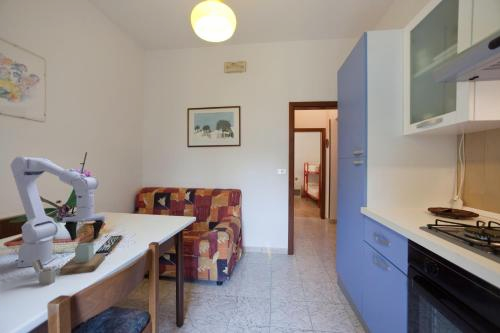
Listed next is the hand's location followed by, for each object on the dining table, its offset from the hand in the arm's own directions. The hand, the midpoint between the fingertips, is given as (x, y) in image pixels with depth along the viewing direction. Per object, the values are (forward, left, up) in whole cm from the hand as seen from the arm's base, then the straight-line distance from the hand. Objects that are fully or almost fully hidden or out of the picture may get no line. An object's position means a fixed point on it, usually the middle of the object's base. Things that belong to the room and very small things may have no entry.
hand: (84, 239), depth 86 cm
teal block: (+1, -2, -8) cm, 8 cm away
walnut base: (+1, -2, -11) cm, 11 cm away
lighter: (-7, -12, -10) cm, 18 cm away
